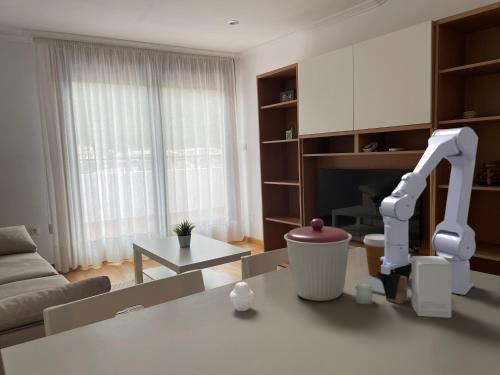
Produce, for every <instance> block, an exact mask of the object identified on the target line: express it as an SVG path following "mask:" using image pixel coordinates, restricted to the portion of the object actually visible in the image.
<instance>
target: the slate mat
mask: <svg viewBox="0 0 500 375" xmlns="http://www.w3.org/2000/svg"><path fill="white" fill-rule="evenodd" d="M360 284H369V285H371V286H372V294H378V295H381V294H382V296H386V295H385V291H384V287H383V284H382V282H381V279H375V278H370V277H369V278H367V279H366V280H364V281H363V282H361V283H360Z"/></svg>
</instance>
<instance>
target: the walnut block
mask: <svg viewBox="0 0 500 375" xmlns="http://www.w3.org/2000/svg"><path fill="white" fill-rule="evenodd" d="M406 299H408V285H407V277H406V276H401V277H400V279H399V282H398V286H397V294H396V298H395V299H394V300H393V299H388V298H386V297H385V301H387V300H389V301H388V302H391V301H392V302H393V303H395V302H396V304H400V303H401V304H403V303H404V302H406V301H407V300H406Z"/></svg>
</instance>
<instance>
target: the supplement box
mask: <svg viewBox="0 0 500 375" xmlns="http://www.w3.org/2000/svg"><path fill="white" fill-rule="evenodd" d="M411 263H412V272H411V301H410V302H411V305H412V308H413V309H414V311H415V312H416V314H417V316H418V317H434V318H449V319H450V318H452V292H451V279H452V264H450V263H449V262H448V261H447V260H446V259H444V258H443V257H442V256H438V255H435V256H434V255H433V256H431V255H428V256H427V255H414V256H413V255H412V256H411Z"/></svg>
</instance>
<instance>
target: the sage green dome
mask: <svg viewBox="0 0 500 375" xmlns="http://www.w3.org/2000/svg"><path fill="white" fill-rule="evenodd" d="M355 289H356V291H355V292H356V293H355V294H356V295H355V296H356V297H355V298H356V300H355V301H356V303H358V304H360V305H371V304H373V292H372V286H371V285H369V284H361V283H359V284H356V286H355Z"/></svg>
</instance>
